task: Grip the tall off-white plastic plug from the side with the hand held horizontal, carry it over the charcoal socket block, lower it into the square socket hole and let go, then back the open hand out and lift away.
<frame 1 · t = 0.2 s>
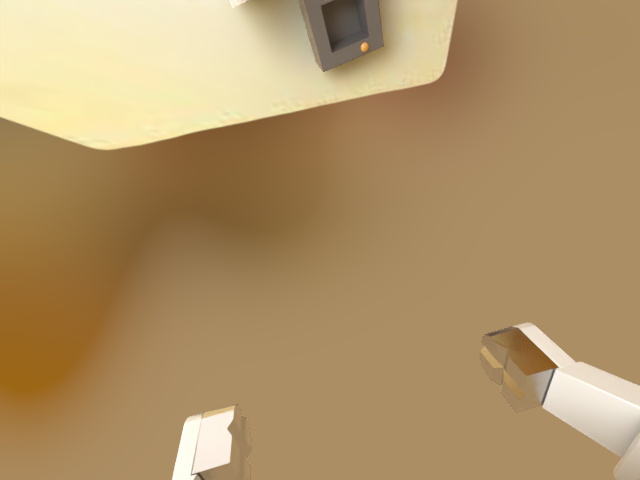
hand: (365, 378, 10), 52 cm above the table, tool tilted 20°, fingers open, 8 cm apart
socket block: (336, 15, 46), on the table
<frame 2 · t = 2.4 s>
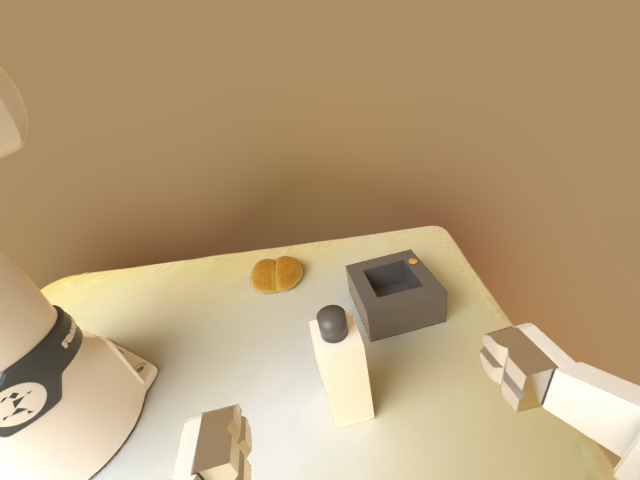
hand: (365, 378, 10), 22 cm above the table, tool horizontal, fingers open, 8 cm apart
bread roll: (278, 281, 52), on the table
socket block: (393, 305, 42), on the table
plug: (350, 404, 31), on the table
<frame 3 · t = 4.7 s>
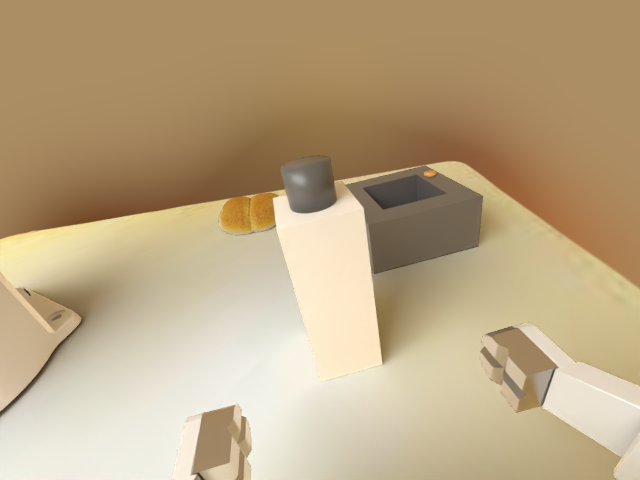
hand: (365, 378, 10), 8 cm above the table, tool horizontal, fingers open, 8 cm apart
bread roll: (255, 223, 42), on the table
socket block: (403, 234, 31), on the table
plug: (344, 348, 20), on the table
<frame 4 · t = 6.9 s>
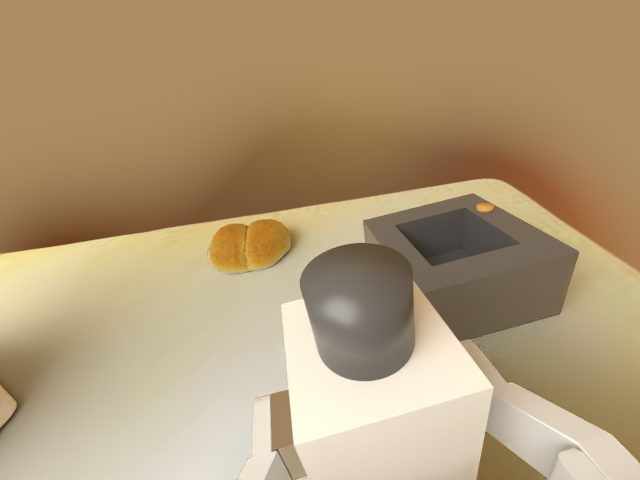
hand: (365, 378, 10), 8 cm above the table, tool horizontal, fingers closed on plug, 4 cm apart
bread roll: (253, 257, 34), on the table
socket block: (448, 286, 24), on the table
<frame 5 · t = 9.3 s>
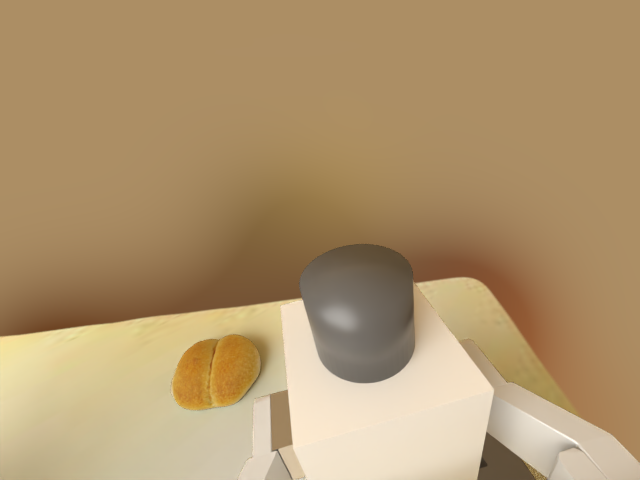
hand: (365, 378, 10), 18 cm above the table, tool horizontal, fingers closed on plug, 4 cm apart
bread roll: (221, 378, 33), on the table
socket block: (417, 463, 22), on the table
when the fingers open (10 cm above the table, at t = 12.0 s): plug drops 1 cm, resting on socket block.
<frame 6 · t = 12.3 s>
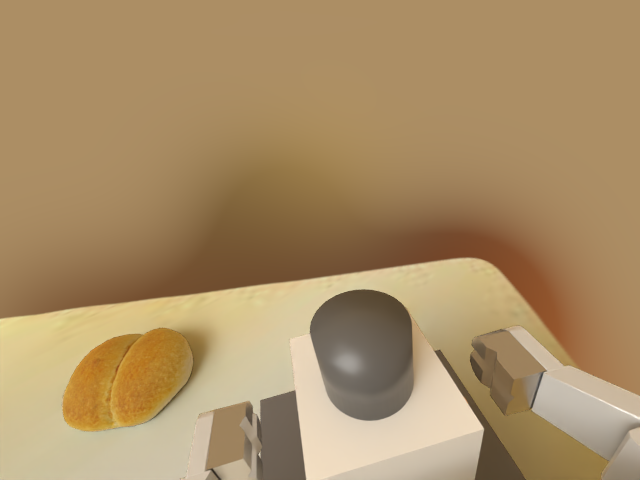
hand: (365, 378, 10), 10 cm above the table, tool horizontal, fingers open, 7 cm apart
bread roll: (140, 386, 24), on the table
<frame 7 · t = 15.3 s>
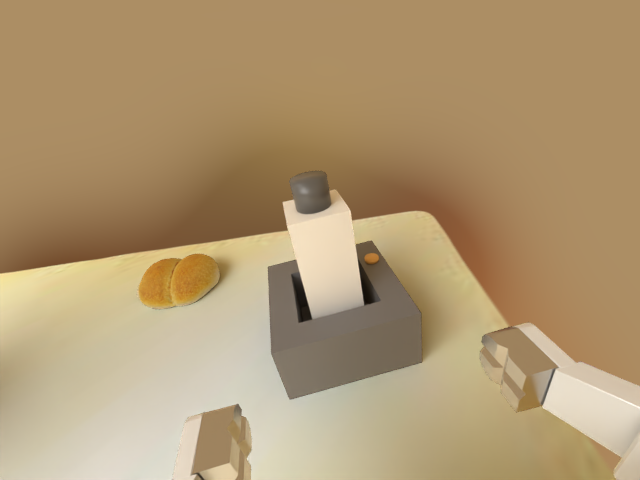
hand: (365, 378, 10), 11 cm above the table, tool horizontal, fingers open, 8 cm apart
bread roll: (184, 290, 36), on the table
socket block: (340, 330, 26), on the table
plug: (338, 322, 25), point 1 cm above the table, touching socket block
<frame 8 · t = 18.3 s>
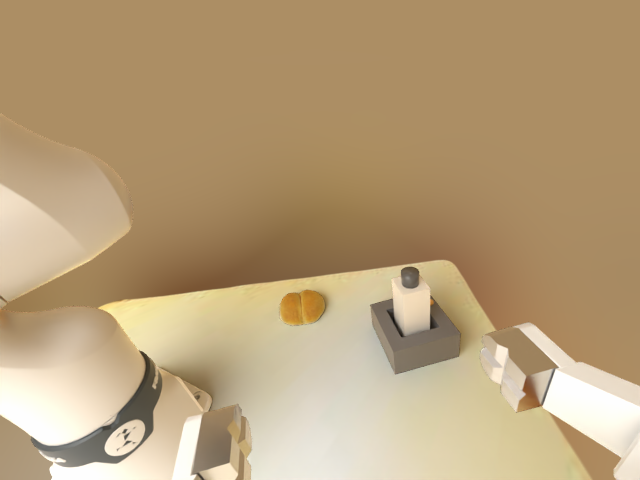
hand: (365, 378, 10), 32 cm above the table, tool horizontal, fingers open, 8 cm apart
bread roll: (302, 313, 59), on the table
socket block: (412, 339, 49), on the table
plug: (411, 335, 48), point 1 cm above the table, touching socket block
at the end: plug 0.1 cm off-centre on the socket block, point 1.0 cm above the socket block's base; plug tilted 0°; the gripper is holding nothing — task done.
